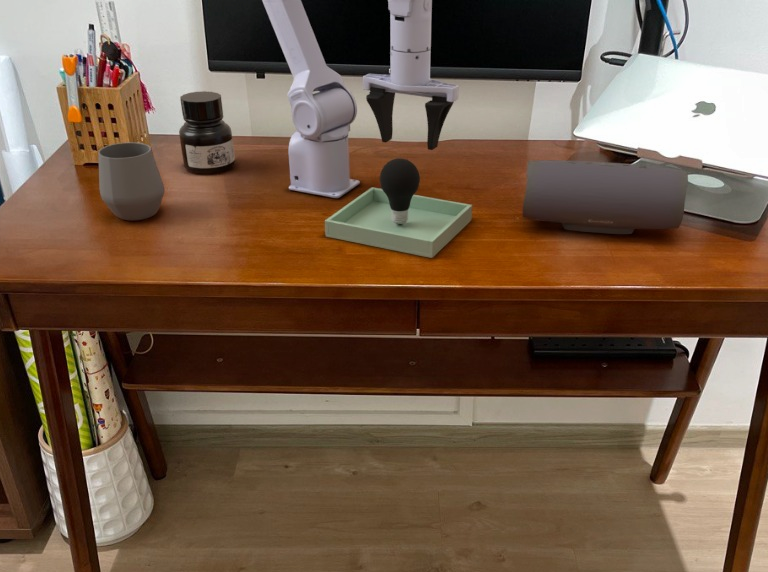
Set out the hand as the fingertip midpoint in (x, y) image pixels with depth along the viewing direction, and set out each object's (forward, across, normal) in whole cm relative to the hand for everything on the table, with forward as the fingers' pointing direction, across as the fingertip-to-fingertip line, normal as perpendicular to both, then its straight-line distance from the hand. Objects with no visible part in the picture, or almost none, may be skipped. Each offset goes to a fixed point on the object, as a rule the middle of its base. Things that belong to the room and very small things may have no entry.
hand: (409, 144), depth 125 cm
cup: (+11, +37, +21) cm, 44 cm away
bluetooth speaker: (+10, -29, -6) cm, 31 cm away
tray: (+10, -2, +7) cm, 13 cm away
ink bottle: (+11, +40, -2) cm, 42 cm away
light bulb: (+10, -2, +7) cm, 13 cm away
